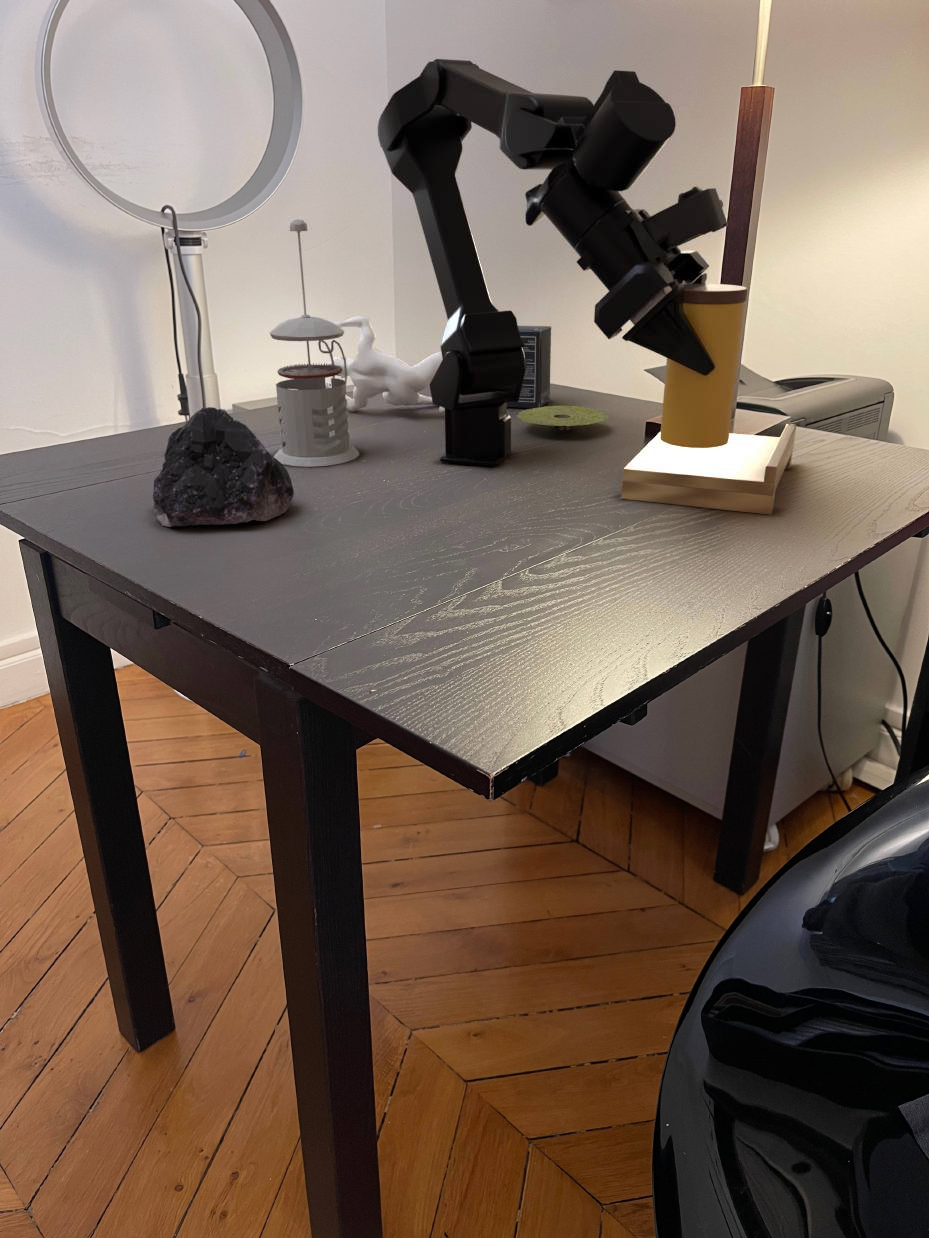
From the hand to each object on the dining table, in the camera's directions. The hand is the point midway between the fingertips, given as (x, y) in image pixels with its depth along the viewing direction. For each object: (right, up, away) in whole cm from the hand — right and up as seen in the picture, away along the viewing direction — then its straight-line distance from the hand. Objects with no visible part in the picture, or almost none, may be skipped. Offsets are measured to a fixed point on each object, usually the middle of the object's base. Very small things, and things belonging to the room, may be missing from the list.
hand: (717, 365), depth 80 cm
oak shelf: (+3, -8, +15) cm, 17 cm away
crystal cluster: (-45, -12, +8) cm, 47 cm away
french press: (-39, -3, +27) cm, 47 cm away
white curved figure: (-31, +6, +46) cm, 56 cm away
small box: (-15, +9, +52) cm, 55 cm away
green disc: (-10, +2, +36) cm, 38 cm away
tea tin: (-1, -6, +3) cm, 7 cm away
